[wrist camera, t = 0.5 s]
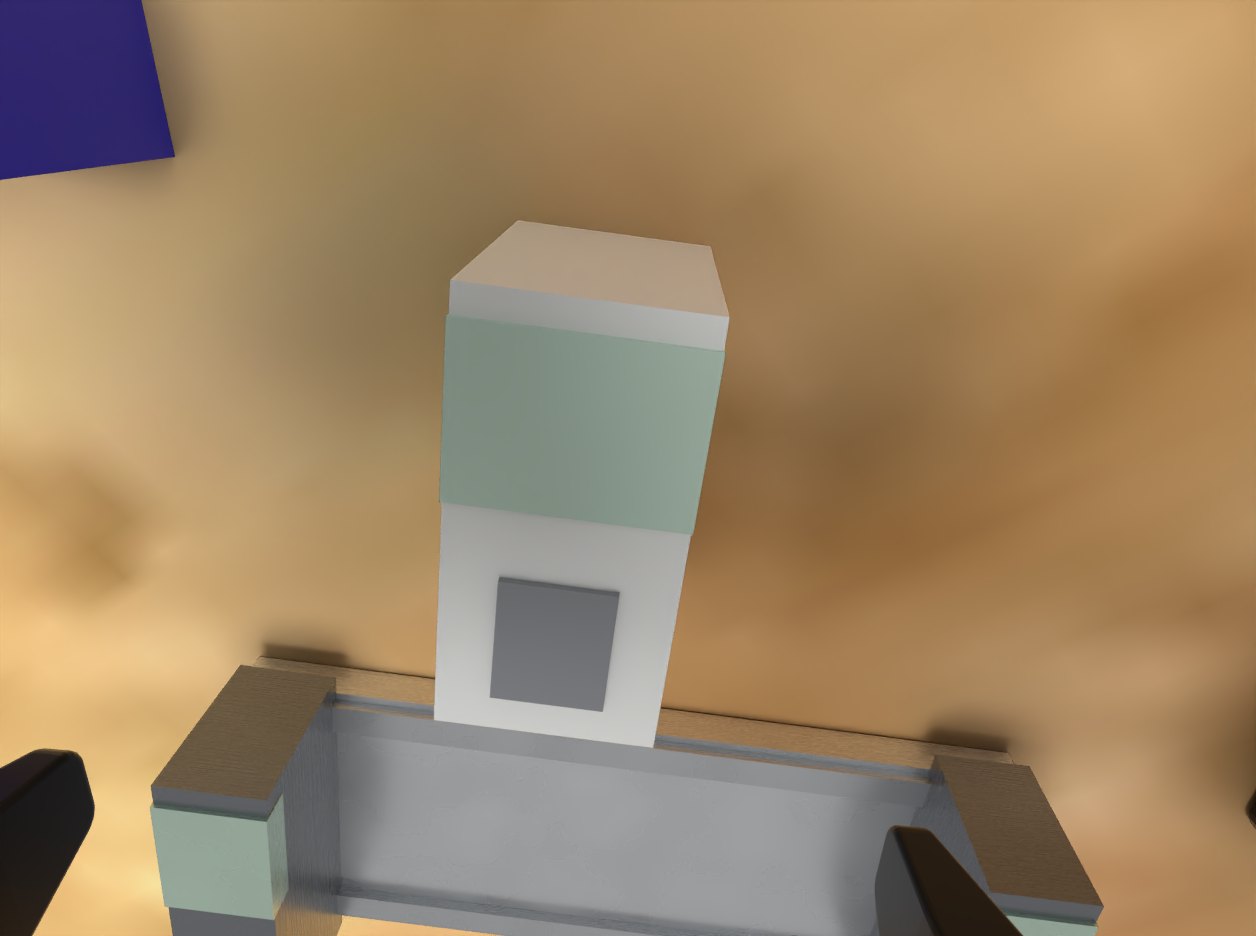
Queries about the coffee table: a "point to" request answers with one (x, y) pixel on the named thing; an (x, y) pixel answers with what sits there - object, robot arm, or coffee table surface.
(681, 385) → the module
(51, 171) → the cable clip
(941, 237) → the coffee table surface
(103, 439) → the coffee table surface
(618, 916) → the rail
